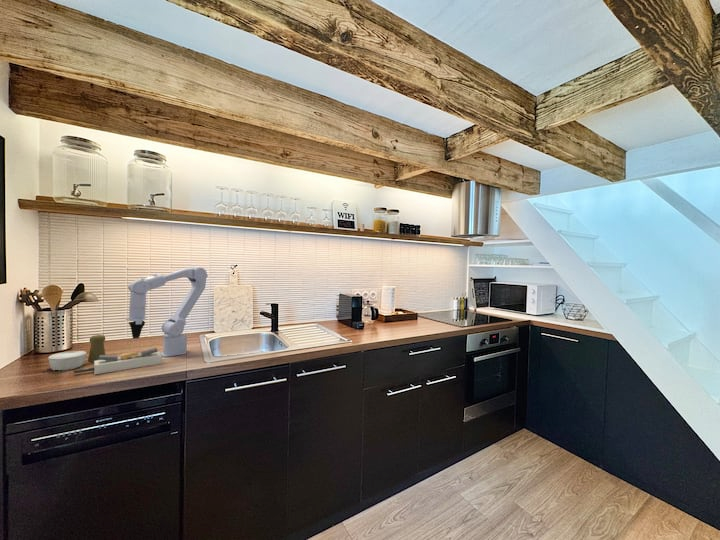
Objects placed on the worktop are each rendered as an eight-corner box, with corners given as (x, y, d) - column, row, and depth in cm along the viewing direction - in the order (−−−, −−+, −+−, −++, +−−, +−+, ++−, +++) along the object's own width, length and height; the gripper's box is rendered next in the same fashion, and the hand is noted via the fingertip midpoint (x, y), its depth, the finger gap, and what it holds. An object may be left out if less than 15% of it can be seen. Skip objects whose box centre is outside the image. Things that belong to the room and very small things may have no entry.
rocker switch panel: (159, 359, 134) (159, 350, 134) (161, 363, 129) (162, 353, 129) (74, 372, 115) (74, 361, 115) (73, 377, 110) (73, 366, 110)
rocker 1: (116, 358, 122) (117, 355, 122) (116, 360, 120) (117, 357, 120) (98, 358, 118) (99, 355, 119) (99, 360, 116) (100, 356, 116)
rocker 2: (156, 350, 132) (156, 347, 131) (157, 351, 129) (157, 349, 129) (141, 354, 128) (140, 352, 128) (142, 356, 126) (141, 354, 125)
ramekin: (83, 360, 129) (84, 348, 128) (88, 367, 121) (88, 354, 121) (46, 367, 120) (46, 354, 120) (49, 374, 113) (49, 360, 113)
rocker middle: (137, 353, 127) (137, 350, 127) (138, 355, 125) (137, 352, 125) (120, 357, 123) (120, 354, 123) (121, 358, 121) (121, 356, 121)
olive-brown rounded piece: (104, 357, 134) (105, 333, 134) (107, 360, 130) (108, 335, 130) (86, 360, 129) (87, 335, 129) (88, 363, 125) (89, 337, 125)
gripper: (124, 305, 133) (123, 335, 133) (127, 310, 122) (125, 342, 122) (143, 305, 137) (142, 334, 137) (148, 309, 127) (146, 340, 127)
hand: (135, 338), depth 130 cm, fingers closed
